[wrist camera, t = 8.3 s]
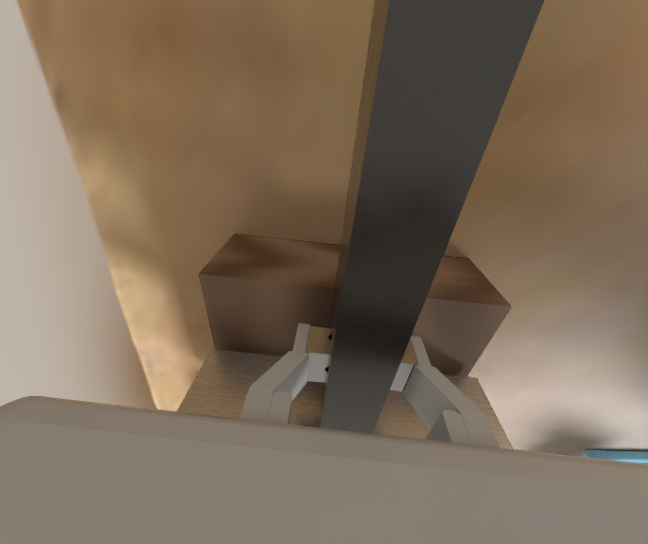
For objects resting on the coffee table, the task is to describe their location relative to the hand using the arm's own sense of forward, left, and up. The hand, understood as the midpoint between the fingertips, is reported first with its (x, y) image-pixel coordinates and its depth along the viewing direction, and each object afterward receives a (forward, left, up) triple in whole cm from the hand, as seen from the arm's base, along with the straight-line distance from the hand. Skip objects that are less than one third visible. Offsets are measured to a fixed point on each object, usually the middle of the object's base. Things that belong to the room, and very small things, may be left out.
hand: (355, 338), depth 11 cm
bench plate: (0, +7, -7) cm, 10 cm away
